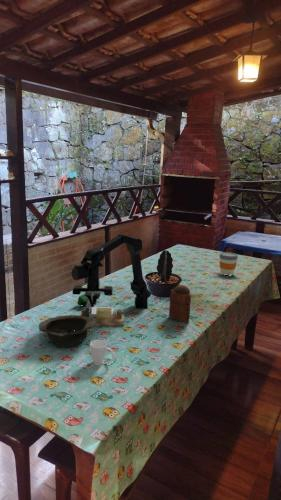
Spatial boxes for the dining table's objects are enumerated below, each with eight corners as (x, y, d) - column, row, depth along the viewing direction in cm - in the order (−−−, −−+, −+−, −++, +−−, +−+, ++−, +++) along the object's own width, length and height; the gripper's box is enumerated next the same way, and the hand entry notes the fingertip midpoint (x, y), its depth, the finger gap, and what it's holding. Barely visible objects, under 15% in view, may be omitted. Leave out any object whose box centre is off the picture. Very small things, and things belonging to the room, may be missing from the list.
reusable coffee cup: (238, 273, 265) (240, 253, 261) (232, 278, 255) (234, 257, 251) (221, 270, 272) (223, 251, 268) (215, 274, 261) (217, 254, 258)
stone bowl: (70, 358, 145) (68, 336, 143) (27, 344, 159) (24, 324, 157) (107, 334, 166) (106, 314, 164) (66, 323, 179) (65, 305, 177)
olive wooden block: (111, 315, 181) (111, 308, 180) (110, 319, 177) (110, 311, 176) (97, 315, 180) (97, 307, 179) (96, 318, 177) (96, 311, 176)
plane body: (124, 319, 183) (124, 308, 181) (124, 325, 176) (124, 314, 175) (80, 318, 182) (80, 306, 181) (78, 324, 175) (78, 312, 174)
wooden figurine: (192, 319, 186) (195, 286, 182) (187, 324, 181) (190, 289, 176) (171, 314, 192) (173, 281, 187) (166, 318, 186) (168, 284, 182)
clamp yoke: (91, 316, 184) (91, 299, 182) (89, 325, 174) (89, 308, 171) (88, 316, 184) (88, 299, 182) (85, 325, 174) (85, 308, 171)
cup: (94, 356, 148) (94, 337, 146) (117, 361, 145) (117, 343, 143) (86, 364, 142) (86, 345, 140) (109, 370, 138) (109, 351, 136)
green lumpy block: (86, 314, 197) (84, 303, 191) (78, 309, 200) (76, 298, 194) (101, 301, 204) (100, 290, 198) (93, 296, 207) (92, 285, 201)
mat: (113, 308, 195) (113, 307, 195) (112, 315, 187) (112, 314, 186) (91, 308, 195) (91, 307, 195) (89, 315, 186) (89, 313, 186)
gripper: (113, 271, 181) (112, 301, 185) (75, 270, 181) (75, 300, 184) (112, 278, 171) (111, 310, 174) (72, 277, 170) (72, 308, 174)
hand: (92, 306), depth 177 cm, fingers closed
